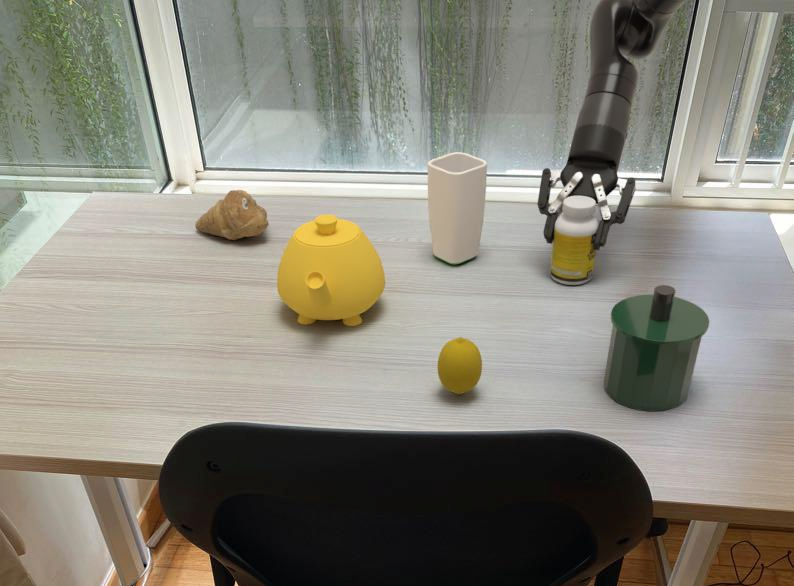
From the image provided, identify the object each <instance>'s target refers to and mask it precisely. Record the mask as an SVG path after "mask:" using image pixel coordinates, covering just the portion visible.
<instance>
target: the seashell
mask: <svg viewBox="0 0 794 586" xmlns="http://www.w3.org/2000/svg"><path fill="white" fill-rule="evenodd" d="M269 225H270V223H269V221H268V212H267V211H266V209H265V208H264V207H263V206H260V205H258V203H257V201H256V200H255V199H254V198H253V197H252V195H251V194H250V193H248V192H247V191H246V190H243V189H237V190H236V189H235V190H234V189H233V190H229V192H227V194H226V195H225V196H224V199H219V200H218V201H216V204H215V205H214V206H211V207H210V208H209V209H208V210H207V211H206V212H205V213H204V214H201V216H200V217H199V218H198V219H197V220H196V221H195V230H197V231H199V232H202V233H204V234H210V235H212V236H218V237H221V238H226V239H228V240H233V241H236V240H239V239H242V238H244V237H247V238H250V237H256V236H259V235H260V234H262V232H264V231H265V230H266V229H267V228H268V227H269Z"/></svg>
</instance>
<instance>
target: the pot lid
mask: <svg viewBox="0 0 794 586" xmlns="http://www.w3.org/2000/svg"><path fill="white" fill-rule="evenodd" d="M676 292H677V290H676V288H675V287H673V286H670V285H667V284H662V285H661V284H660V285H657V286H655V287H654V289H653V294H652V293H651V294H649V293H648V294H639V295H634V296H633V295H632V296H630V297H626V298H625V299H622V300H620V301H619V302H617V303H616V304H614V306H613V308H612V309H611V312H610V322H611V324H612V327H613V326H614V327H615V328H616V329H617V330H618V331H619V332H621V333H622V334H624V335H626V336H627V337H630V338H632V339H635V340H637V341H641V342H645V343H650V344H657V345H678V344H684V343H689V342H692V341H694V340H697V339H699V338H700V337H702V338H703V336H704V335H705V334H706V333H707V332H708V329H709V327H710V318H709V315H708V313H706V311H705V310H704V309H702V308H701V307H700V306H699V305H697V304H695V303H693V302H692V301H689V300H687V299H684V298H681V297H677V296H675V295H676Z"/></svg>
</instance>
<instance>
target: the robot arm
mask: <svg viewBox="0 0 794 586" xmlns="http://www.w3.org/2000/svg"><path fill="white" fill-rule="evenodd" d="M686 2H687V0H599V1H598V3H597V5H595V8H594V10H593V13H592V16H591V21H590V25H589V50H590V51H589V52H590V66H589V67H590V68H589V69H590V72H589V78H588V84H587V86H586V87H587V88H586V92H585V94H584V99H583V103H582V106H581V108H580V111H579V113H578V116H577V120H576V124H575V129H574V132H573V136H572V139H571V145H570V149H569V153H568V157H567V160H566V164H565V165H564V167H563V169H562V170H561V171H551V169H550V168H549V167H545V168H544V169H543V170H542V172H541V179H540V185H539V191H538V198H537V208H538V211H539V212H538V213H540V214H541V215H545V216H546V219H545V224H544V226H543V227H544V228H543V237H544V239H545V241H546V244H549V245H553V238H554V227H555V222H556V220H557V219H558V218H559V217H560V216H561V215H562V214H563V211H562V207H563V201H564V199H565V198H567V197H570V196H587V197H590V198H592V199H594V200H595V201H596V206H597V208H598V211H599V214H600V217H601V219H600V220H598V222H599V225H598V229H597V234H596V238H595V242H594V250H596V251H600V249H601V247H602V248H604V247H605V245H606V244H607V239H608V235H609V231H610V228H611V226H613V225H616V224H618V225H623V224H624V223H625V221H626V218H627V215H628V212H629V210H630V207H631V204H632V201H633V199H634V195H635V192H636V179H635V178H634V177H629V178H628V179H626V178H620V177H619V176H618V170H619V166H620V163H621V159H622V155H623V152H624V151H623V150H624V146H625V142H626V140H627V137H628V130H629V127H630V121H631V111H632V107H633V104H634V99H635V95H636V92H637V87H638V83H639V71H638V70H637V67H636V66H635V65H634V64H633V63H632V62H631V61H630V60H628V59H631V60H637V61H639V60H643V59H646V58H647V57H650V56H651V55H652V54H653V53H654V52H655V51H656V49H657V47H658V45H659V44H660V41H661V39H662V37H663V34H664V32H665V30H666V28H667V26H668V25H669V23H670V21H671V19H672V17H673V16H674V15H675V13H676V12H677V11H678V10H679V9H680V8H681V7H682V6H683V5H684V4H685V3H686ZM627 58H628V59H627ZM558 182H561V185H562V186H563V188H562V190H561V191H560V192H559V193H558V194H557V196H556V199H554V200H553V202H552V203H551V204H550V203H549V202H550V197H551V190H552V189H553V188H555V187H556V185H557V183H558ZM616 188H618V191H619V196H620V200H619V202H618V205H617V208H616V211H612V212H611V210H610V207H609V203H608V199H607V197H608V196H609V195H610V194H611V193H613V192H614V190H615V189H616Z"/></svg>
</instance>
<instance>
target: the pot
mask: <svg viewBox="0 0 794 586" xmlns="http://www.w3.org/2000/svg"><path fill="white" fill-rule="evenodd" d="M702 338H703V336H702V337H700V338H699V339H697V340H694V341H692V342H689V343H684V344H678V345H657V344H650V343H645V342H641V341H637V340H635V339H632V338H630V337H627V336H626V335H624V334H622V333H621V332H619V331H618V330H617V329H616V328H615V327H614V326H613V325H612V328H611V333H610V340H609V346H608V353H607V359H606V366H605V371H604V377H603V383H604V384H603V387H604V390H605V393H606V394H607V395H608V396H609V397H610V399H612V400H613V401H614V402H616V403H618V404H619V405H622V406H624V407H627V408H629V409H633V410H637V411H644V412H661V411H667V410H671V409H675V408H677V407H678V406H680V405H682V404H683V403H684V402H685V401H686V400H687V398H688V396H689V392H690V388H691V384H692V380H693V376H694V371H695V368H696V364H697V359H698V354H699V349H700V346H701V342H702Z"/></svg>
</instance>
